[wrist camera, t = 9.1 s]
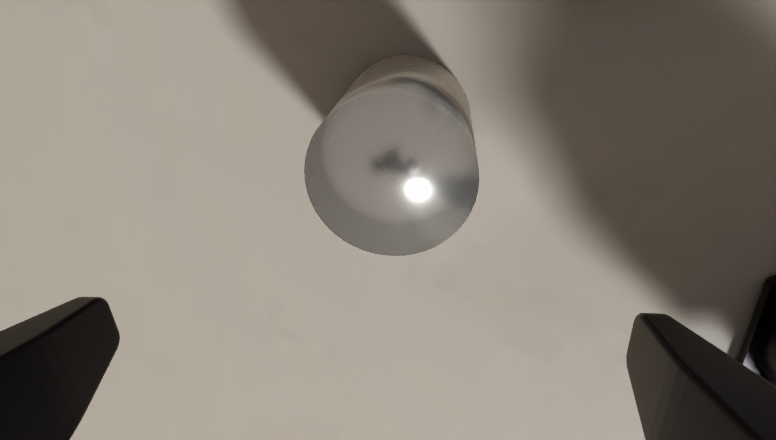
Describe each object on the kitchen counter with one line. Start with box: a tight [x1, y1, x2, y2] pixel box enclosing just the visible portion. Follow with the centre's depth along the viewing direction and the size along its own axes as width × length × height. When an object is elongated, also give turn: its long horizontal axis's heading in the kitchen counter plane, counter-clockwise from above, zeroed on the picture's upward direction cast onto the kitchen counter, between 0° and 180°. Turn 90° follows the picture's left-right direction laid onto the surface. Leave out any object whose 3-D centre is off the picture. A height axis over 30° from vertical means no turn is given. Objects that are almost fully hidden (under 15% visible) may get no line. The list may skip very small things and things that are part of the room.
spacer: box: [304, 55, 479, 256], centre depth 17 cm, size 5×5×6 cm
